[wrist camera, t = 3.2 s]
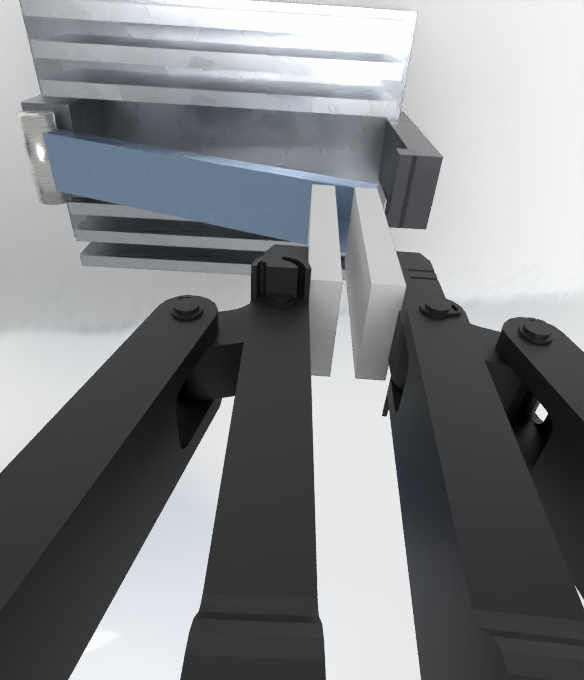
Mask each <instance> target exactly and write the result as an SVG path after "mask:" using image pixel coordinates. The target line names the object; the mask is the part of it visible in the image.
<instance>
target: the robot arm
mask: <svg viewBox="0 0 584 680" xmlns="http://www.w3.org/2000/svg"><path fill="white" fill-rule="evenodd" d="M345 270H346V281H347V292H348V303H349V314H350V325H351V336H352V347H353V358H354V369H355V378H358V379H372V380H385V379H386V375H387V370H388V366H389V367H390V372H391V379H390V383H389V387H388V391H387V396H386V400H385V404H384V409H383V414H382V416H387V413H388V410H389V412H390V420H391V429H392V437H393V446H394V454H395V462H396V471H397V479H398V488H399V496H400V504H401V512H402V522H403V530H404V538H405V546H406V555H407V564H408V572H409V581H410V589H411V597H412V606H413V615H414V623H415V631H416V640H417V648H418V656H419V665H420V674H421V680H584V608H583V605H582V603H581V600H580V598H579V595H578V593H577V590H576V588H577V589H578V591H579V592H580V594H581V596H582V597H583V599H584V352H583V351H582V350H581V349H580V348H578V346H576V345H575V344H574V343H573V342H572V341H571V340H570V339H569V338H568V337H567V336H566V335H565V334H564V333H563V332H561V331H560V330H558V329H557V328H556V327H554V326H552V325H550V324H547V323H546V322H544V321H542V320H539V319H537V320H536V319H535V318H524V317H523V318H522V317H517V318H512V319H509V320H508V321H506V322H505V323H504V325H503V327H502V330H501V332H498V331H494V330H490V329H486V328H482V327H479V326H475V325H472V324H470V323H469V320H468V318H467V315H466V313H465V311H464V310H463V309H462V307H461V306H459V305H458V304H456V303H455V302H453V301H450V300H448V299H446V298H445V296H444V293H443V291H442V288H441V286H440V284H439V281H438V280H437V276H436V274H435V273H434V269H433V267H432V264H431V262H430V261H429V260H428V259H426V258H425V257H424V256H423V255H422V254H420V253H412V252H398V251H396V250H395V247H394V243H393V240H392V236H391V233H390V230H389V226H388V223H387V220H386V216H385V213H384V210H383V206H382V203H381V200H380V196H379V193H378V189H375V188H360V187H354V194H353V202H352V210H351V217H350V225H349V233H348V240H347V248H346V255H345ZM341 289H342V269H341V257H340V244H339V231H338V218H337V205H336V193H335V186H331V185H317V184H312V193H311V206H310V219H309V232H308V244H307V246H292V245H278V244H274V245H273V246H272V247H270V248H269V249H268V250H267V251H266V252H265V256H261V257H260V258H258V259H256V260H254V262H253V263H252V265H251V301H250V304H248V305H246V306H244V307H242V308H239V309H235V310H230V311H223V312H218V309H217V307H216V304H215V303H213V302H212V301H211V300H209V299H207V298H204V297H200V296H192V295H184V296H177V297H174V298H171V299H169V300H166V301H165V302H163V303H162V304H160V305H159V306H158V307H157V308H156V309H155V310H154V311H153V312H152V313H151V314H150V316H149V317H148V318H147V319H146V320H145V321H144V322H143V323H142V324H141V325H140V326H139V327H138V328H137V329H136V330H135V331H134V332H133V333H132V335H131V336H130V337H129V338H128V339H127V340H126V341H125V342H124V343H123V344H122V345H121V346H120V347H119V348H118V349H117V350H116V351H115V352H114V354H113V355H112V356H111V357H110V358H109V359H108V360H107V361H106V362H105V363H104V364H103V365H102V366H101V367H100V368H99V369H98V370H97V372H96V373H95V374H94V375H93V376H92V377H91V378H90V379H89V380H88V381H87V382H86V383H85V384H84V385H83V386H82V387H81V388H80V389H79V391H78V392H77V393H76V394H75V395H74V396H73V397H72V398H71V399H70V400H69V401H68V402H67V403H66V404H65V405H64V406H63V407H62V408H61V410H60V411H59V412H58V413H57V414H56V415H55V416H54V417H53V418H52V419H51V420H50V421H49V422H48V423H47V424H46V425H45V426H44V427H43V429H42V430H41V431H40V432H39V433H38V434H37V435H36V436H35V437H34V438H33V439H32V440H31V441H30V442H29V443H28V444H27V446H26V447H25V448H24V449H23V450H22V451H21V452H20V453H19V454H18V455H17V456H16V457H15V458H14V459H13V460H12V461H11V462H10V463H9V464H8V466H7V467H6V468H5V469H4V470H3V471H2V472H1V473H0V680H68V679H69V677H70V675H71V674H72V672H73V670H74V668H75V666H76V664H77V663H78V661H79V659H80V657H81V656H82V654H83V652H84V650H85V648H86V647H87V645H88V643H89V641H90V639H91V638H92V636H93V634H94V632H95V630H96V629H97V627H98V625H99V623H100V621H101V620H102V618H103V616H104V614H105V612H106V611H107V608H108V607H109V605H110V603H111V601H112V600H113V598H114V596H115V594H116V592H117V591H118V589H119V587H120V585H121V583H122V582H123V580H124V578H125V576H126V574H127V573H128V571H129V569H130V567H131V565H132V564H133V562H134V560H135V558H136V556H137V555H138V553H139V551H140V549H141V547H142V546H143V544H144V542H145V540H146V538H147V537H148V534H149V533H150V531H151V529H152V528H153V526H154V524H155V522H156V520H157V519H158V517H159V515H160V513H161V511H162V510H163V508H164V506H165V504H166V502H167V501H168V499H169V497H170V495H171V493H172V491H173V490H174V488H175V486H176V484H177V482H178V481H179V479H180V477H181V475H182V474H183V472H184V470H185V468H186V466H187V464H188V463H189V461H190V459H191V457H192V456H193V454H194V452H195V450H196V448H197V447H198V445H199V443H200V441H201V439H202V437H203V436H204V434H205V432H206V430H207V429H208V427H209V425H210V423H211V421H212V419H213V418H214V416H215V414H216V412H217V410H218V409H219V407H220V404H221V400H222V398H224V397H230V396H235V399H234V406H233V412H232V418H231V424H230V430H229V436H228V442H227V449H226V455H225V461H224V467H223V473H222V479H221V485H220V491H219V498H218V504H217V510H216V517H215V522H214V528H213V534H212V540H211V547H210V553H209V559H208V565H207V571H206V578H205V584H204V590H203V595H202V601H201V605H200V609H199V612H198V613H197V614H196V616H195V617H194V619H193V622H192V625H191V628H190V632H189V636H188V641H187V646H186V651H185V656H184V662H183V668H182V673H181V679H180V680H326V673H325V653H324V652H325V651H324V637H323V628H322V623H321V620H320V618H319V613H318V599H317V568H316V567H317V565H316V533H315V532H316V531H315V496H314V464H313V428H312V396H311V375H316V376H329V377H330V372H331V364H332V357H333V350H334V342H335V335H336V327H337V319H338V312H339V304H340V297H341ZM539 403H541V404H542V405H543V407H544V408H545V409H546V410H547V412H548V415H547V417H546V419H545V420H544V422H543V421H542V420H541V419H539V417H538V416H537V415H536V413H535V411H536V409H537V407H538V405H539ZM575 586H576V588H575Z"/></svg>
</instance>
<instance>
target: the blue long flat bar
mask: <svg viewBox="0 0 584 680" xmlns="http://www.w3.org/2000/svg"><path fill="white" fill-rule="evenodd" d="M16 116H17V120H18V123H19V127H20V131H21V135H22V138H23V142H24V146H25V149H26V153H27V157H28V161H29V164H30V168H31V172H32V175H33V179H34V183H35V187H36V190H37V194H38V198H39V201H40V202H41V203H43V204H49V205H56V204H63V203H67V202H69V201H71V200H72V199H73V197H72V194H74V195H78V196H83V197H87V198H92V199H97V200H101V201H106V202H111V203H115V204H120V205H124V206H129V207H134V208H138V209H143V210H148V211H152V212H157V213H161V214H166V215H171V216H175V217H180V218H185V219H189V220H194V221H199V222H203V223H208V224H212V225H217V226H222V227H226V228H231V229H236V230H240V231H245V232H249V233H254V234H259V235H263V236H268V237H273V238H277V239H282V240H286V241H291V242H296V243H300V244H305V245H307V244H308V232H309V219H310V206H311V193H312V184H317V185H331V186H335V193H336V205H337V218H338V231H339V244H340V252H342V253H346V248H347V240H348V233H349V225H350V217H351V210H352V202H353V194H354V187H360V188H375V189H378V184H373V183H368V182H362V181H356V180H350V179H344V178H339V177H333V176H327V175H321V174H315V173H309V172H304V171H298V170H292V169H286V168H280V167H275V166H269V165H263V164H257V163H251V162H246V161H240V160H234V159H228V158H222V157H216V156H211V155H205V154H199V153H193V152H187V151H182V150H176V149H170V148H164V147H158V146H153V145H147V144H141V143H135V142H129V141H123V140H118V139H112V138H106V137H100V136H94V135H89V134H83V133H77V132H71V131H65V130H60V129H57V126H56V122H55V117H54V113H53V112H51V111H47V110H27V111H21V112H18V113H16Z"/></svg>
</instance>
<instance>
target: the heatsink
mask: <svg viewBox="0 0 584 680" xmlns="http://www.w3.org/2000/svg"><path fill="white" fill-rule="evenodd" d="M19 1H20V6H21V10H22V14H23V18H24V23H25V27H26V31H27V36H28V40H29V44H30V48H31V53H32V57H33V61H34V65H35V70H36V74H37V78H38V82H39V87H40V91H41V95H39V96H36V97H33V98H31V99H28V100H25V101H23V102H21V105H22V109H23V111H27V110H47V111H51V112H53V113H54V117H55V122H56V126H57V129H60V130H65V131H71V132H77V133H83V134H89V135H94V136H100V137H106V138H112V139H118V140H123V141H129V142H135V143H141V144H147V145H153V146H158V147H164V148H170V149H176V150H182V151H187V152H193V153H199V154H205V155H211V156H216V157H222V158H228V159H234V160H240V161H246V162H251V163H257V164H263V165H269V166H275V167H280V168H286V169H292V170H298V171H304V172H309V173H315V174H321V175H327V176H333V177H339V178H344V179H350V180H356V181H362V182H368V183H373V184H378V193H379V196H380V200H381V203H382V206H383V208H384V202H385V197H386V200H387V203H386V209H385V216H386V220H387V223H388V226H389V227H395V228H412V229H426V227H427V223H428V219H429V214H430V210H431V206H432V202H433V197H434V193H435V189H436V185H437V180H438V176H439V172H440V167H441V163H442V159H443V157H442V155H441V154H440V153H439V152H438V151H437V150H436V149H435V147H434V146H433V145H432V144H431V143H430V142H429V141H428V139H427V138H426V137H425V136H424V135H423V134H422V133H421V131H420V130H419V129H418V128H417V127H416V126H415V125H414V123H413V122H412V121H411V120H410V119H409V118H408V117H407V116H406V114H405V113H404V112H400V110H401V104H402V98H403V92H404V87H405V81H406V75H407V69H408V64H409V58H410V52H411V46H412V40H413V35H414V29H415V23H416V17H417V12H416V11H408V10H392V9H377V8H362V7H347V6H332V5H316V4H301V3H286V2H271V1H256V0H19ZM72 197H73V199H72V200H71V201H69V202H67V206H68V211H69V215H70V219H71V223H72V228H73V232H74V236H75V237H76V241H90V242H91V243H90V244H89V245H88V246H87V247H86V248H85V250H84V251H83V252H82V253H81V254H80V258H81V263H82V266H99V267H117V268H135V269H153V270H171V271H189V272H207V273H225V274H243V275H251V265H252V263H253V262H254V260H256V259H258V258H260V257H261V256H265V252H266V251H267V250H268V249H269V248H270V247H272V246H273V245H274V244H278V245H292V246H307V245H305V244H300V243H296V242H291V241H286V240H282V239H277V238H273V237H268V236H263V235H259V234H254V233H249V232H245V231H240V230H236V229H231V228H226V227H222V226H217V225H212V224H208V223H203V222H199V221H194V220H189V219H185V218H180V217H175V216H171V215H166V214H161V213H157V212H152V211H148V210H143V209H138V208H134V207H129V206H124V205H120V204H115V203H111V202H106V201H101V200H97V199H92V198H87V197H83V196H78V195H74V194H72ZM345 255H346V253H342V252H340V257H341V269H342V280H346V270H345Z"/></svg>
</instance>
